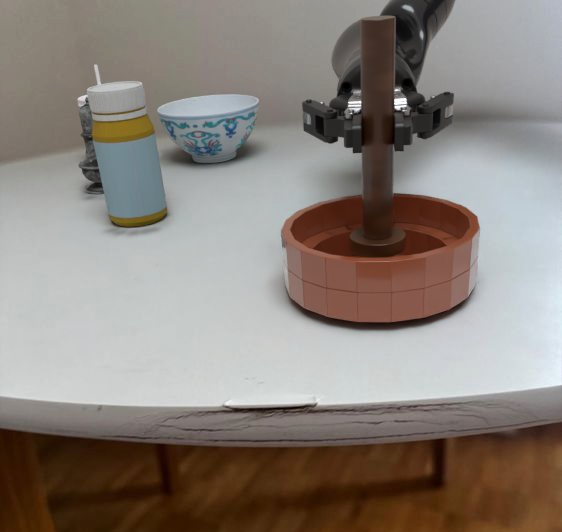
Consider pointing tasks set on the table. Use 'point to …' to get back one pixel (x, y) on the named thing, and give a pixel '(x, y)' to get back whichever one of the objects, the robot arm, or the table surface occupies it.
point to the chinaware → (210, 124)
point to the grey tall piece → (89, 151)
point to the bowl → (381, 260)
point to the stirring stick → (377, 141)
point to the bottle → (127, 154)
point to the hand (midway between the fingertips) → (377, 138)
